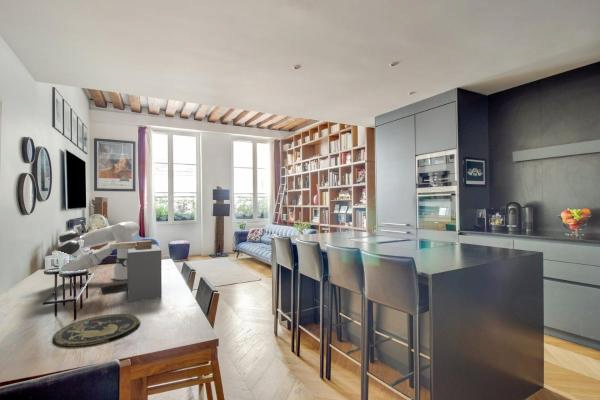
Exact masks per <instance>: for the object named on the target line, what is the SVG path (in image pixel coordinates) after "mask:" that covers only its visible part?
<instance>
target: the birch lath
mask: <svg viewBox="0 0 600 400" xmlns="http://www.w3.org/2000/svg"><path fill="white" fill-rule="evenodd" d="M115 244H117V243H116V242H110V245H111V246H113V245H115ZM119 245H120V246H119V247H117V248H115V249H114V250H117V249H124V248H136V245H137V241H133V242H124V243H119Z"/></svg>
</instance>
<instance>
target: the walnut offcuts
mask: <svg viewBox="0 0 600 400" xmlns="http://www.w3.org/2000/svg"><path fill="white" fill-rule="evenodd" d="M136 242H137V245H136V249H149V248H152V245H153V241H152V240H150V239H149V240H139V241H136Z"/></svg>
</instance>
